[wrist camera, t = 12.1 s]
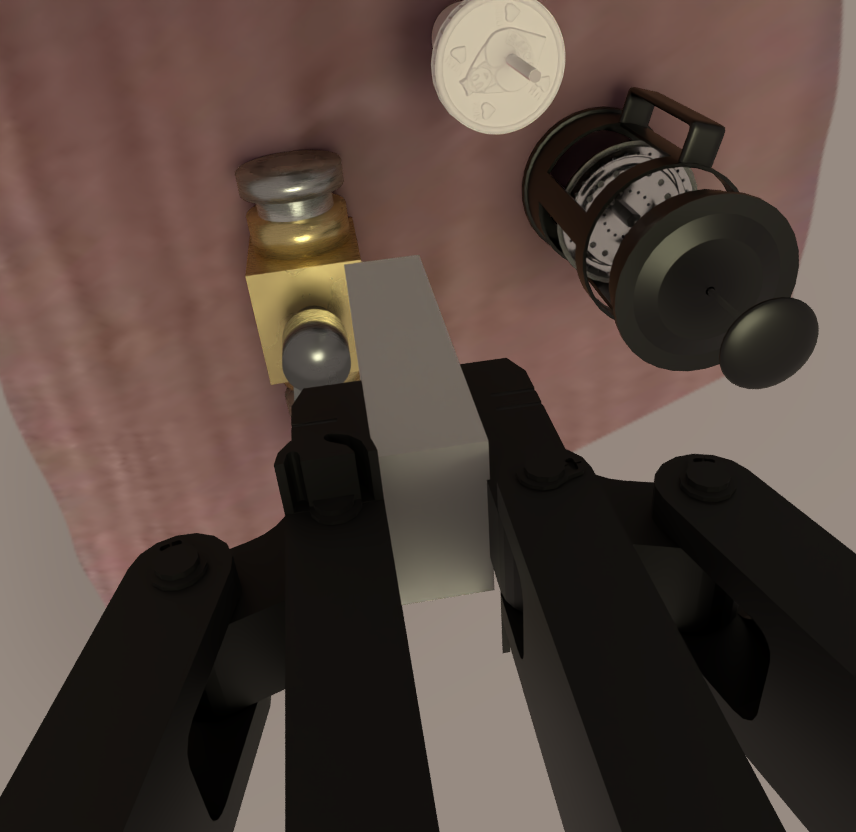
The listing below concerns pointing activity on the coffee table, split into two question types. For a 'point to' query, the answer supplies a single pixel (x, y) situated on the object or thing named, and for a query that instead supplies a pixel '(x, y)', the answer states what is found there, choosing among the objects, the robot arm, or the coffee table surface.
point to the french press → (673, 246)
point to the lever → (315, 350)
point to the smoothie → (496, 62)
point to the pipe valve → (297, 247)
